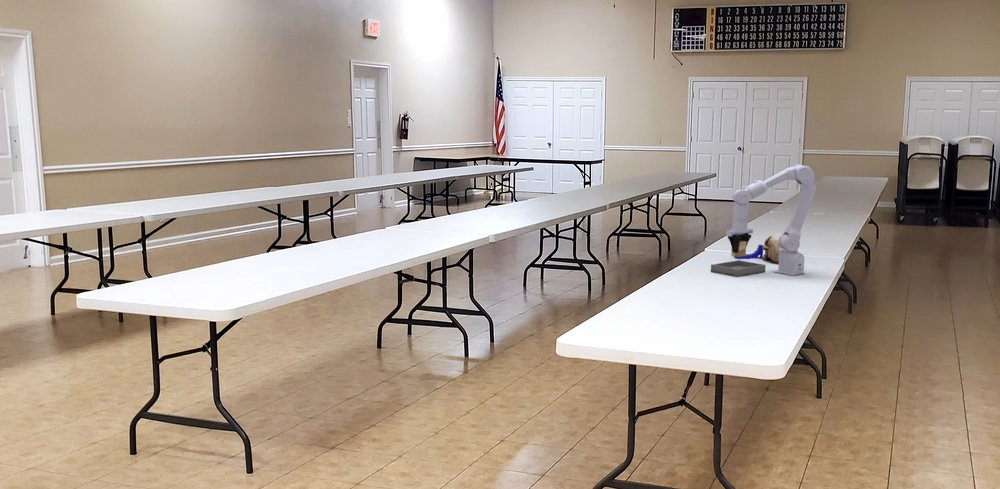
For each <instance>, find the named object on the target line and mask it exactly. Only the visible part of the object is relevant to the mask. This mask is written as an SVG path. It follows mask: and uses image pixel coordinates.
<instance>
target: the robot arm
mask: <svg viewBox="0 0 1000 489" xmlns="http://www.w3.org/2000/svg"><path fill="white" fill-rule="evenodd" d="M787 180H788V181H789V180H790V181H796V182H797V184H798V185H799V187H800V189H801V191H800V193H799V197H798V198H797V203H796V204H795V206H794V210H793V212H792V215H791V218H790V220H789V222H788V225H787V227H786V228H785V229H784V231H783V234H782V235H781V236H780V238H779V245H780V246H781V248H780V249H779V263H778V267H777V268H778V269H777V270H776V269H775V270H773V273H778V274H784V275H788V276H789V275H790V276H796V275H802V274H806V273H805V256H804V254H803V253H801V252H799V248H800V245H801V244H800V242H801V241H800V240H801V236H802V234H801V233H802V231H801V230H802V228H803V225H804V222H805V219H806V217H807V214H808V212H809V209H810V206H811V204H812V202H813V199H814V197H815V194H816V191H817V185H816V181H815V180H816V179H815V173H814V172H813V170H812V168H811V167H810V166H808V165H803V164H801V163H800V164H799V163H798V164H794V165H793V166H790V167H787V168H785V169H783V170H782V171H779V172H778V173H776V174H774V175H773V176H771V177H768V178H767V179H765V180H760V179H758V180H756V179H755V180H753V181H752V183H750V184H749V185H747V186H742V188H741V189H737V190H735V191H734V193H733V195H732V200H733V213H732V214H733V215H732V228H730V229H729V230H726V234H725V236H726V237H727V239H728V240H729V243H730V245H731V252H732V251H733V253H738V250H739V243H740V241H746V248H747V246H748V243H749V242H750V239H751V238H752V234H754V228H751V227H748V223H749V222H748V217H749V215H748V214H749V203H750V201H751V200H753V199H755V198H758V197H760V196H762V195H764V194H766V193H767V191H768V189H770V188H772V187H774V186H775V185H777V184H781V183H783V182H784V181H787Z"/></svg>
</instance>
